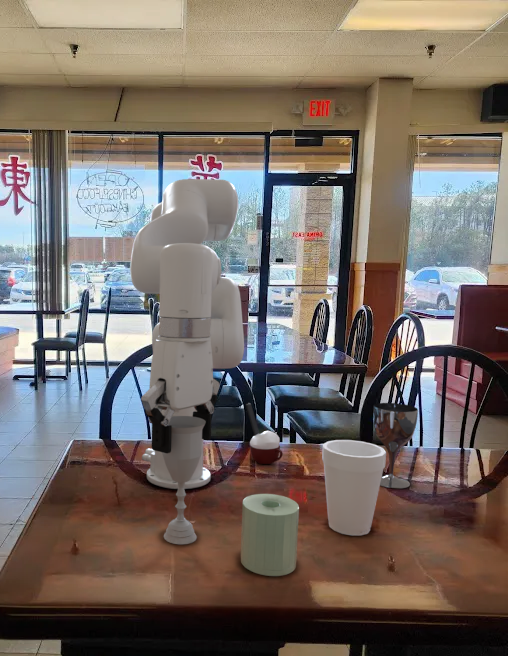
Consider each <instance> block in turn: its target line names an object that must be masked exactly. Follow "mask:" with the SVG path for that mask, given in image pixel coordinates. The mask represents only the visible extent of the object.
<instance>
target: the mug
mask: <svg viewBox="0 0 508 656" xmlns="http://www.w3.org/2000/svg"><path fill="white" fill-rule="evenodd" d="M241 509H242V510H241V535H240V537H241V538H240V563H241V565H242V566H243V567H244V568H245V569H247V571H248V570H249V571H250V572H253V573H254V574H257V575H261V576H269V577H281V576H286V575H289V574H291V573H292V572H294V571H295V570H296V568H297V559H298V557H297V556H298V537H299V536H298V534H299V520H300V519H299V516H300V507H299V504H298V503H297V501H295V500H293V499H292V498H291V497H287V496H284V495H281V494H274V493H255V494H251V495H248V496H246V497H245V498H244V499H242V507H241Z"/></svg>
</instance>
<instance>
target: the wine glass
mask: <svg viewBox="0 0 508 656" xmlns="http://www.w3.org/2000/svg"><path fill="white" fill-rule="evenodd" d="M372 411H373V413H372V414H373V417H372V418H373V419H372V420H373V427H374V431H375V435H376V436H377V438H378V439H379V440H380V442H381V443H382V444H383V446H384V447H385V449H386V450H387V451H386V452H387V454H388V461H389V463H388V465H389V467H388V474H382V478H381V482H380V487H383V488H389V489H390V488H392V489H406V488H408V487H410V486H411V483H410V482H409V481H408V480H407V479H405V478H402V477H399V476H395V475H394V467H395V461H396V456H397V454H398V452H399V451H400V450H401V448H403V447H404V446H405V445H406V444H407V443H408V442H410V440H411V439H412V438H413V437H414V434H415V431H416V428H417V424H418V417H419V415H418V414H419V409H418V408H417V407H415V406H412V405H409V404H404V403H396V402H378V403H375V404H373V410H372Z"/></svg>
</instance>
